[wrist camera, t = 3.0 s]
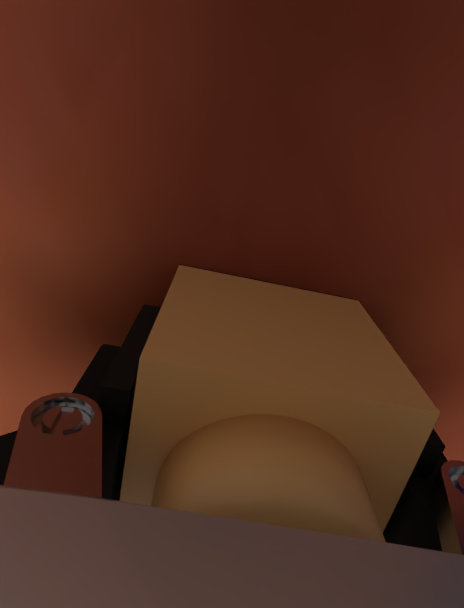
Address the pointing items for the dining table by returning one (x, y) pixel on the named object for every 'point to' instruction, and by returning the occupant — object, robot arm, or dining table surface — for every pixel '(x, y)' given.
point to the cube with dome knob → (272, 409)
